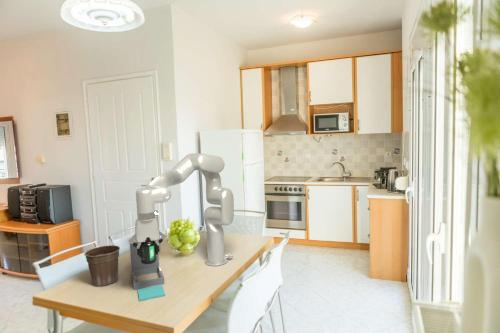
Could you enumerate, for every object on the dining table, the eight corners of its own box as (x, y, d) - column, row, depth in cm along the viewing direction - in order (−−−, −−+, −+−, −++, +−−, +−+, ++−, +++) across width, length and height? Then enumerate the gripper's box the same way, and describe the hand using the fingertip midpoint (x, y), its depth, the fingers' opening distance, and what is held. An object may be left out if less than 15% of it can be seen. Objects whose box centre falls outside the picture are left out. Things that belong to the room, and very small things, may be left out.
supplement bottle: (156, 263, 148) (154, 237, 147) (140, 265, 147) (138, 238, 146) (157, 258, 155) (155, 233, 154) (142, 260, 153) (140, 234, 152)
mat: (162, 286, 159) (161, 284, 159) (165, 295, 149) (165, 294, 149) (137, 291, 155) (137, 289, 155) (139, 301, 145) (139, 299, 145)
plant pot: (82, 290, 158) (79, 257, 157) (91, 277, 174) (89, 247, 173) (118, 286, 161) (116, 253, 160) (124, 273, 177) (122, 243, 176)
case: (159, 269, 180) (157, 239, 179) (164, 283, 162) (162, 249, 161) (131, 274, 175) (129, 242, 174) (134, 289, 157) (131, 254, 155)
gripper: (164, 212, 156) (167, 249, 157) (125, 216, 149) (127, 255, 151) (167, 215, 149) (169, 254, 150) (125, 220, 142) (128, 261, 144)
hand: (148, 254), depth 150 cm, fingers closed on supplement bottle, 6 cm apart
